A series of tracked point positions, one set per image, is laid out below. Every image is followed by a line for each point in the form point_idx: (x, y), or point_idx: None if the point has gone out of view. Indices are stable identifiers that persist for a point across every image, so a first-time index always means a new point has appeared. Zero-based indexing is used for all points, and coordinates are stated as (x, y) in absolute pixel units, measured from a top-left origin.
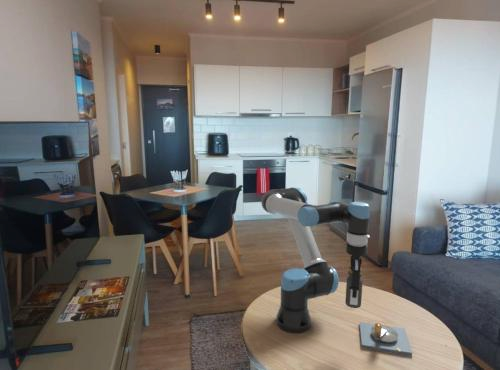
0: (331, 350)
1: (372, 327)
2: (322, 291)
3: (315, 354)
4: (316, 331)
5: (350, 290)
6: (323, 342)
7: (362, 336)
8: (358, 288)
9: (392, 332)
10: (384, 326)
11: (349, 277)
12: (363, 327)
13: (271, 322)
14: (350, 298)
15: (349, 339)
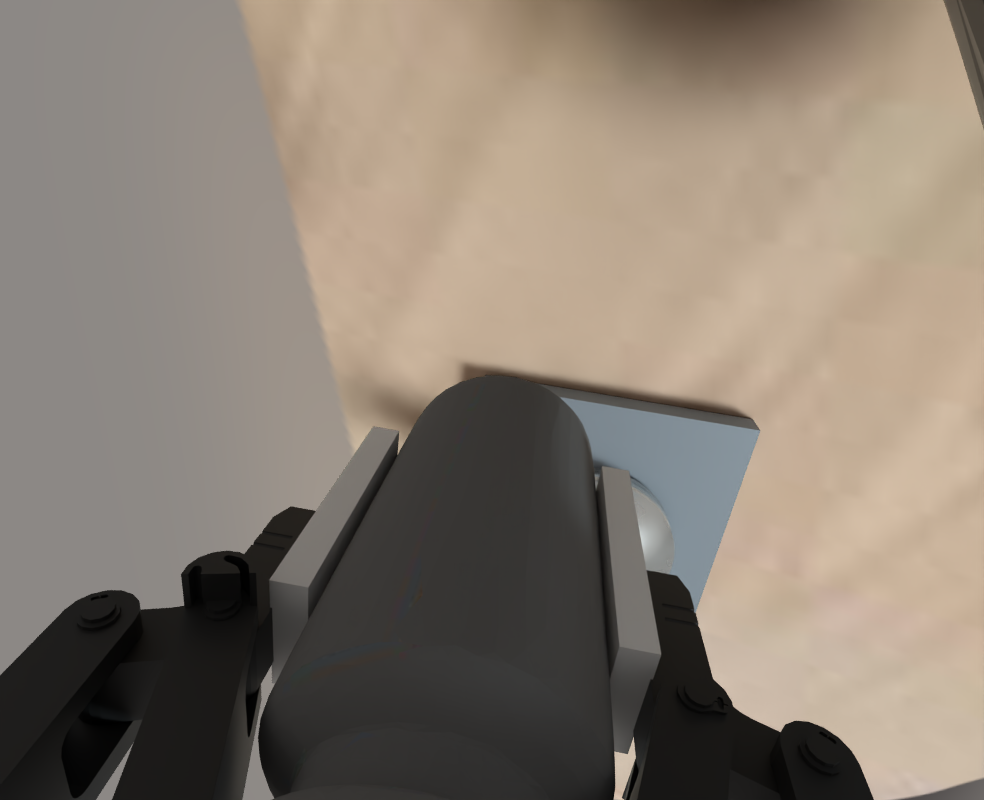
0: (429, 164)
1: (641, 498)
2: (981, 77)
3: (361, 27)
4: (662, 53)
5: (352, 540)
6: (515, 108)
7: (575, 408)
8: (73, 722)
9: None
10: (656, 571)
11: (402, 727)
12: (684, 439)
13: None
14: (345, 470)
15: (572, 315)
